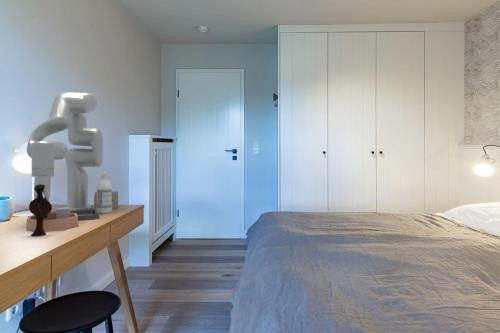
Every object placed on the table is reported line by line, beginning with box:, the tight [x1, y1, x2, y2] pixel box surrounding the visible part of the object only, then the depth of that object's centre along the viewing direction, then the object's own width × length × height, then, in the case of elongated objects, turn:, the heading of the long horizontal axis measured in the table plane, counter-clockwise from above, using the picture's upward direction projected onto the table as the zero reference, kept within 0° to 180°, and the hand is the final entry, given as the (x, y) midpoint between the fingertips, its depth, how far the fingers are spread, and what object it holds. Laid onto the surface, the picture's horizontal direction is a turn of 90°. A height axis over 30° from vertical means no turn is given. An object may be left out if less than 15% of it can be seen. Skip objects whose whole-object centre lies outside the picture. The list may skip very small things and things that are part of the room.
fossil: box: [93, 190, 119, 211], centre depth 169 cm, size 12×4×10 cm, turn 147°
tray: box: [50, 208, 100, 221], centre depth 146 cm, size 15×20×2 cm
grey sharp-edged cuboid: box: [55, 206, 71, 220], centre depth 131 cm, size 4×5×6 cm
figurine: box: [28, 184, 53, 237], centre depth 115 cm, size 7×5×18 cm
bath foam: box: [96, 171, 113, 214], centre depth 161 cm, size 7×7×20 cm
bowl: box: [26, 213, 79, 233], centre depth 129 cm, size 17×17×4 cm
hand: (42, 215), depth 128 cm, fingers open, 9 cm apart
